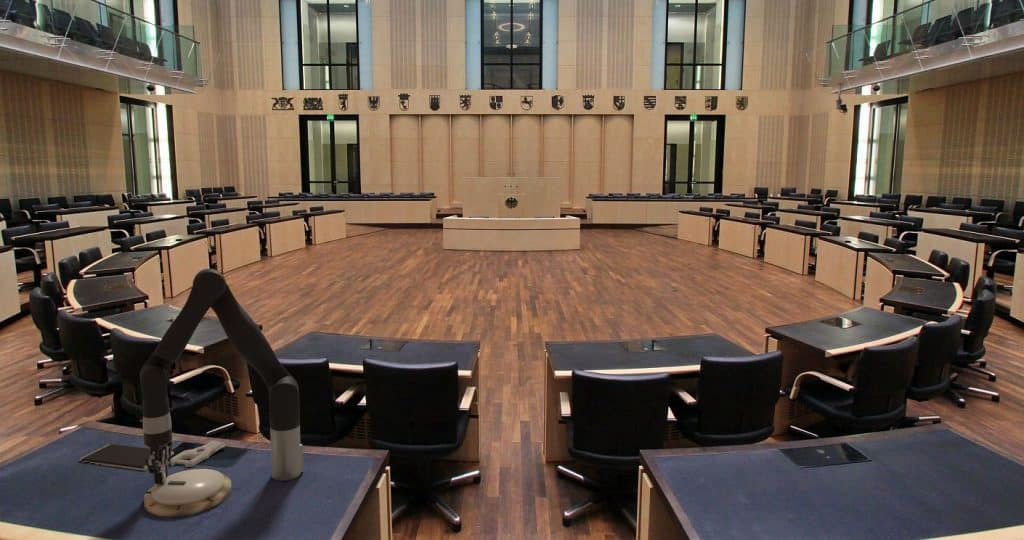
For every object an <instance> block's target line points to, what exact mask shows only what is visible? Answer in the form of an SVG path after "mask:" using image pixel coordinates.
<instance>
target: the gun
mask: <svg viewBox="0 0 1024 540" xmlns="http://www.w3.org/2000/svg"><path fill="white" fill-rule="evenodd" d="M225 447H227V442H226V441H219V440H217V441H216V439H214V440H211V441H210V442H209V441H208V443H206V444H204V445H202V446H198V447H195V448H193V449H187V450H186V449H185V450H183V451H181V452H180V453H178V454H176V455H175V456H173V457H171V460H170V461H169V462H170V465H171V467H174V466H175V465H184V467H185V468H189V467H191V468H192V467H195V466H196V465H198V464H200V463H202V462H203V461H204V460H207V459H210V456H212V455H213V454H215V453H216V452H217V453H218V452H219V451H220V450H221V449H223V448H225Z"/></svg>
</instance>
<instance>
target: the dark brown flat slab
mask: <svg viewBox="0 0 1024 540" xmlns="http://www.w3.org/2000/svg"><path fill="white" fill-rule="evenodd" d="M174 454H175V452H174V451H172V450H171V457H172V455H173V456H174ZM149 458H150V448H149V447H148V448H147V447H138V446H130V445H122V444H116V443H115V444H114V443H110V444H107V445H105V446H103V447H101V448H99V449H97V450H95V451H93V452H91V453H88V454H86V455H85V456H83V457H80V458H79V462H80V461H84V462H90V463H89V464H91V463H95V464H94V465H99V464H101V465H100V466H106V467H114V468H120V467H121V469H127V470H135V471H145V472H146V471H149V470H148V468H147V465H146V463H145V461H146V459H149ZM84 462H83V463H84ZM157 462H158V461H157Z"/></svg>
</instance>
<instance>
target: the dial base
mask: <svg viewBox="0 0 1024 540" xmlns="http://www.w3.org/2000/svg"><path fill="white" fill-rule="evenodd" d="M222 475H223V476H224V486H223V488H222V489H221V490H220V491H219V492H218V493H216V494H215V495H213V496H211V497H209V498H207V499H205V500H202V501H199V502H196V503H191V504H186V505H177V506H169V505H162V504H159V503H156V502H155V501H154V500H153V499H152V495H151V490H152V487H150V488H149V489H148V490H146V491H145V494H144V497H143V502H144V505H143V506H144V510H146V511H147V512H148V513H149V514H151V515H155V516H159V517H173V518H174V517H182V516H189V515H193V514H197V513H201V512H204V511H207V510H209V509H211V508H214V507H215V506H217V505H219V504H221V503H223V502H224V501H225V500H226V499H228V497H229V496H230V494H231V492H232V480H231V478H230V477H229V476H227V475H226V474H223V473H222Z"/></svg>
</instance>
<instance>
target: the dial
mask: <svg viewBox="0 0 1024 540" xmlns="http://www.w3.org/2000/svg"><path fill="white" fill-rule="evenodd" d="M158 467H159V465H158ZM162 473H163V482H162V484H155V483H154V485H153V486H152V487H151V488H152V490H151V495H152V499H153V500H154V501H155V502H156V503H159V504H162V505H169V506H177V505H186V504H191V503H196V502H199V501H202V500H205V499H207V498H209V497H211V496H213V495H215V494H216V493H218V492H219V491H220V490H221V489H222V488H223V486H224V476H223V475H222V474H223V473H221V472H220V471H217V470H215V469H209V468H208V469H207V468H196V469H195V468H194V469H188V470H183V471H178V472H176V473H172V474H170V475H168V477H167V478H166V472H165V463H164V464H162Z"/></svg>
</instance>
